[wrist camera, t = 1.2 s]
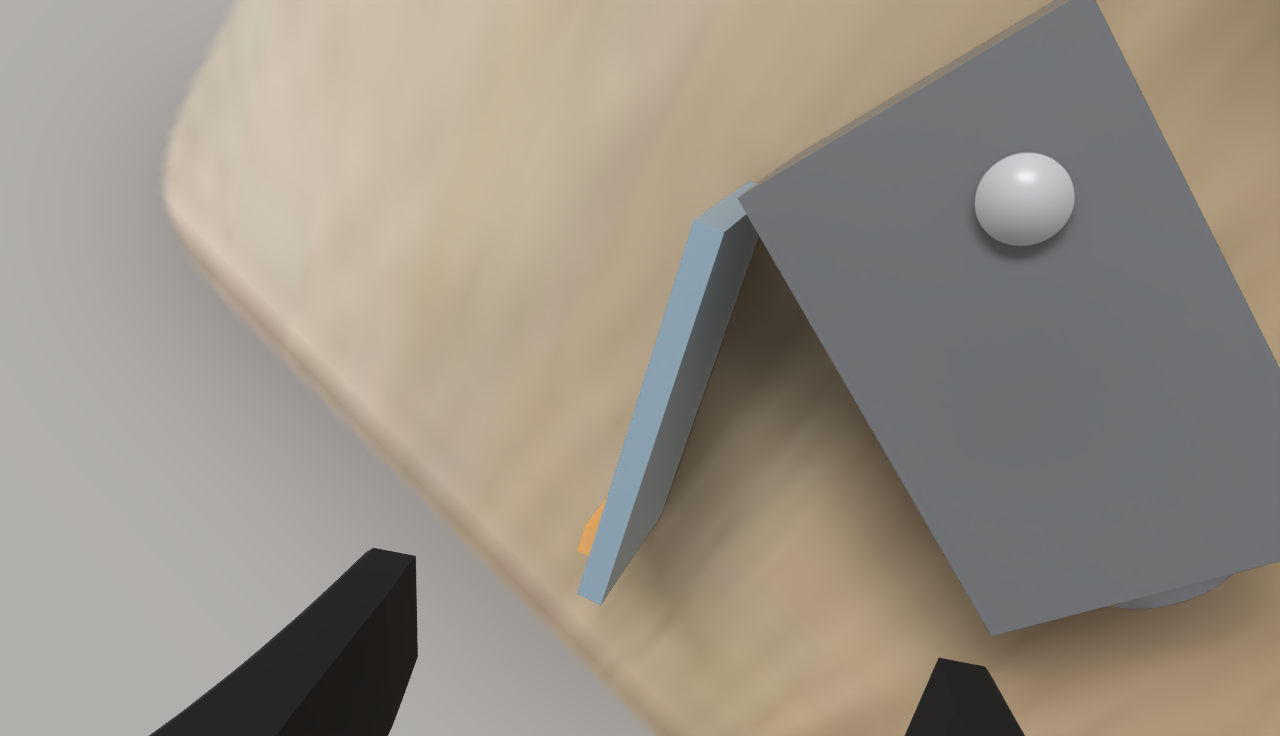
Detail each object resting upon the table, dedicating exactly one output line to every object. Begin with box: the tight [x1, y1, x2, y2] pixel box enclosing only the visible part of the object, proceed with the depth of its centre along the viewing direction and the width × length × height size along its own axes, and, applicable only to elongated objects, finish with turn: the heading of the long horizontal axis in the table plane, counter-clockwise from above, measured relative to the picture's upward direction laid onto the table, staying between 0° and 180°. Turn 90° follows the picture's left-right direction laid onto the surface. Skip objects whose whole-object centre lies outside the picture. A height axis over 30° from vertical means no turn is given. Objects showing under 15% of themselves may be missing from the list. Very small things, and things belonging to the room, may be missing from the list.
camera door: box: [577, 181, 759, 605], centre depth 20 cm, size 9×1×4 cm, turn 164°
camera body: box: [738, 0, 1280, 636], centre depth 17 cm, size 10×6×5 cm, turn 34°
